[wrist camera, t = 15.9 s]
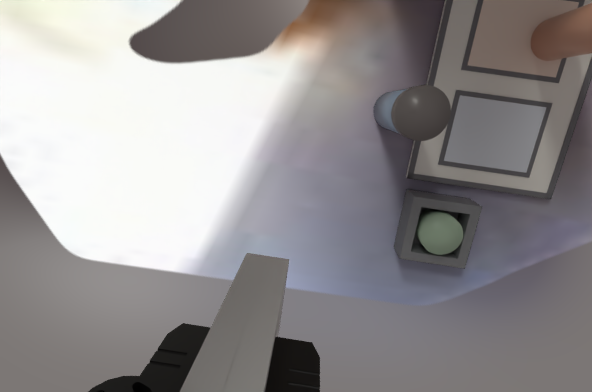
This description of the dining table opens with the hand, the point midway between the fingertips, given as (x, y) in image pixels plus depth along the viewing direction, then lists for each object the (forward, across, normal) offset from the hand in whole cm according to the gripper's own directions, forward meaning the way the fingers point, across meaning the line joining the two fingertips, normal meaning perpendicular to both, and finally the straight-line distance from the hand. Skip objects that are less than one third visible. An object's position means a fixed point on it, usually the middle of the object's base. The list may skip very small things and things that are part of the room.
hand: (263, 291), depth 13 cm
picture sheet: (+29, +20, +11) cm, 37 cm away
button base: (+29, +16, -5) cm, 34 cm away
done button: (+28, +16, -5) cm, 33 cm away
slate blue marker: (+29, +9, +7) cm, 32 cm away
